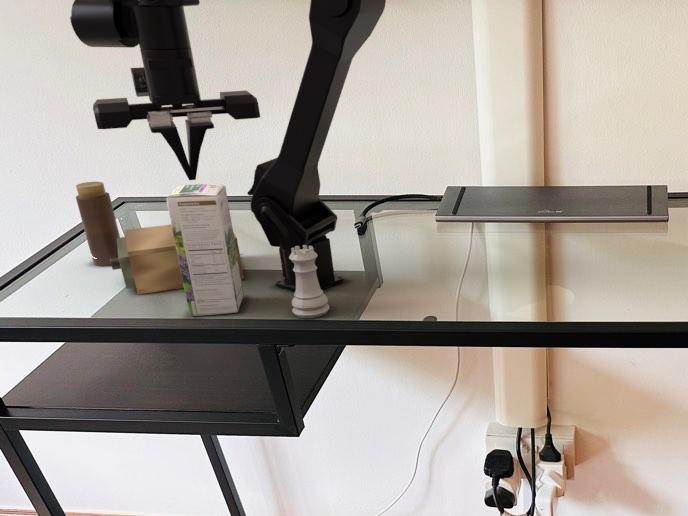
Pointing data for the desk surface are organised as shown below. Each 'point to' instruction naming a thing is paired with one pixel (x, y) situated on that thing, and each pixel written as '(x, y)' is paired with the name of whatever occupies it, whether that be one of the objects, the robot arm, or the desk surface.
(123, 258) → the drawer
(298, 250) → the rook chess piece
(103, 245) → the pepper mill
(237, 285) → the syrup box
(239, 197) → the desk surface
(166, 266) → the drawer unit
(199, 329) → the desk surface
